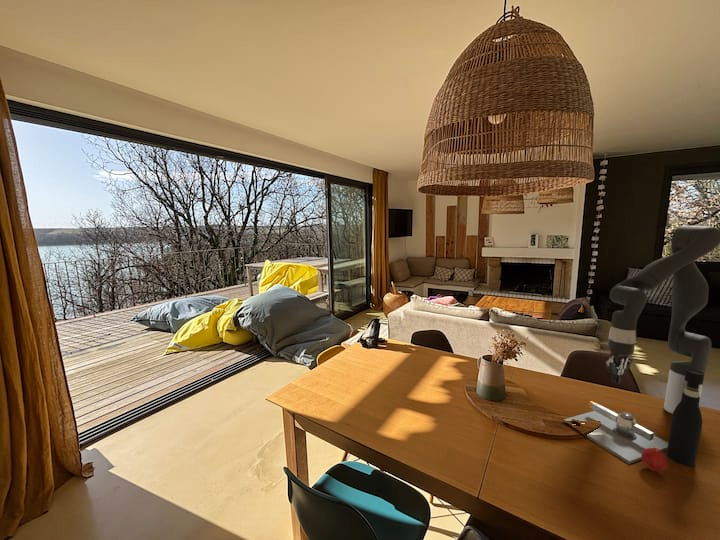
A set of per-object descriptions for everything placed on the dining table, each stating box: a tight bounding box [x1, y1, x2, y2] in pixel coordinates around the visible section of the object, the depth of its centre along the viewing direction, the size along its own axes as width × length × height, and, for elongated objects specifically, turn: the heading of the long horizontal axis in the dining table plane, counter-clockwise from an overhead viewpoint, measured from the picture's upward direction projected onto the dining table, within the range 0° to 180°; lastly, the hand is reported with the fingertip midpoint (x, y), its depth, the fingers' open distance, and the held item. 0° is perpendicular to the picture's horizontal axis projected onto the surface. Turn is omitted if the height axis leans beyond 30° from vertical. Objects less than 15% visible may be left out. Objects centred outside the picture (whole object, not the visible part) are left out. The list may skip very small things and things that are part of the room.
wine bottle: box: [666, 369, 705, 468], centre depth 95 cm, size 6×6×30 cm
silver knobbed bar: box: [588, 400, 655, 441], centre depth 110 cm, size 20×5×7 cm, turn 19°
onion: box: [641, 447, 669, 472], centre depth 92 cm, size 6×6×8 cm
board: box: [562, 410, 668, 465], centre depth 109 cm, size 22×22×1 cm
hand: (615, 382), depth 115 cm, fingers closed
